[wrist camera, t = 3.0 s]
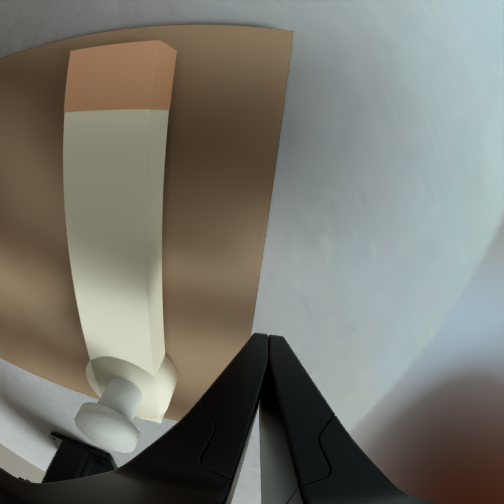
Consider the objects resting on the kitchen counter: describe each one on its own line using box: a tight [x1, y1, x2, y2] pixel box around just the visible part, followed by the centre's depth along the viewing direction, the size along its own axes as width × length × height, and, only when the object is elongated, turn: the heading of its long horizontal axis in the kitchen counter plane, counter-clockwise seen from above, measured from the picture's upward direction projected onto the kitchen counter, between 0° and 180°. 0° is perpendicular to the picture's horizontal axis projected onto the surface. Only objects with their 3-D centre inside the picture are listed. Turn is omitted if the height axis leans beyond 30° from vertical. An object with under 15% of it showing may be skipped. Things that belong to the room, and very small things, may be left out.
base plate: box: [0, 25, 294, 421], centre depth 12 cm, size 18×22×1 cm
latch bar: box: [63, 40, 177, 453], centre depth 9 cm, size 15×4×4 cm, turn 173°
